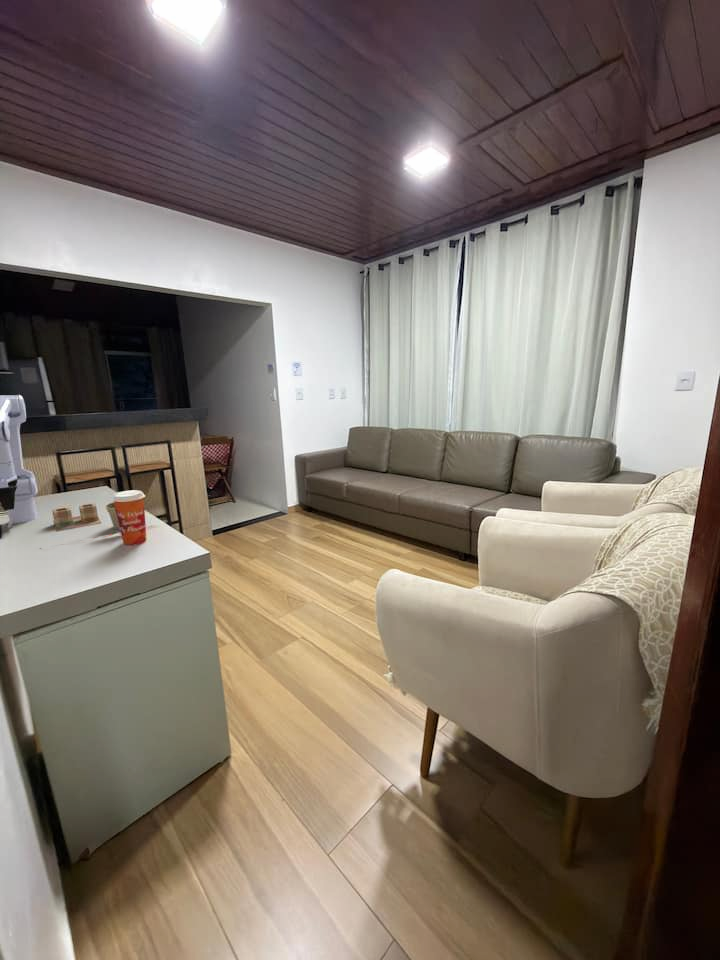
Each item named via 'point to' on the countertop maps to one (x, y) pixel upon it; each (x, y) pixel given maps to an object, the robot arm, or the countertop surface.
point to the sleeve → (62, 516)
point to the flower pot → (113, 514)
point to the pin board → (77, 524)
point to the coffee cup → (131, 516)
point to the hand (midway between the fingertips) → (9, 506)
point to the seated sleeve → (88, 512)
